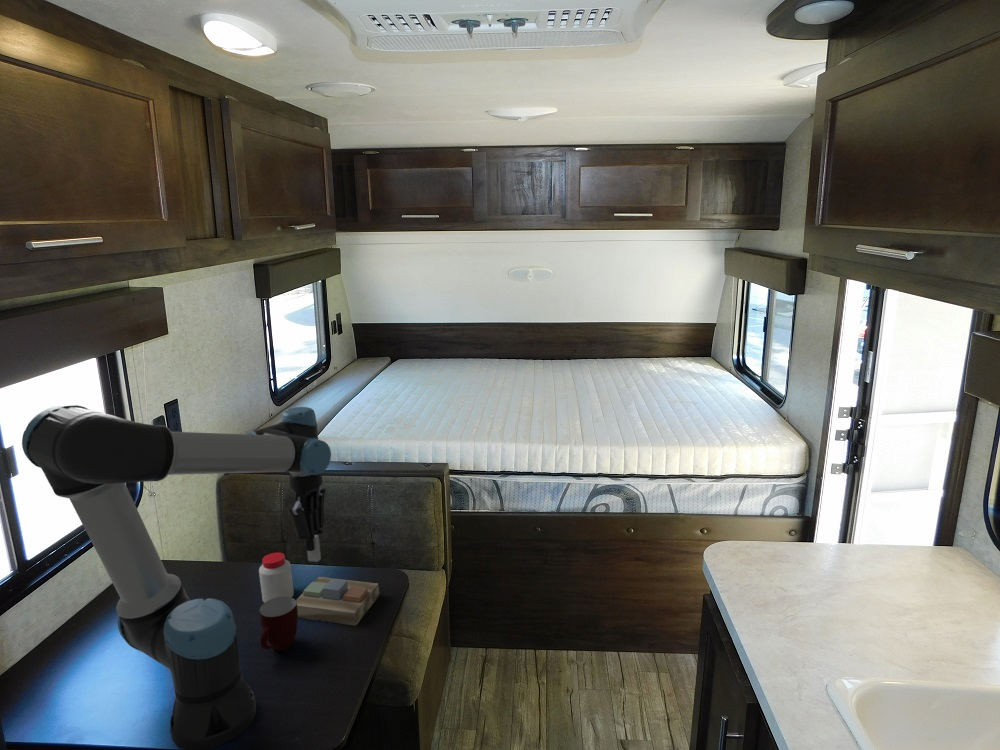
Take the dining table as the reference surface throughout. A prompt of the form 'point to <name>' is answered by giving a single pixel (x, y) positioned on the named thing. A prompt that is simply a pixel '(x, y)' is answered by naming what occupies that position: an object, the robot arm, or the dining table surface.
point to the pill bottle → (275, 577)
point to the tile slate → (335, 589)
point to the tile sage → (314, 590)
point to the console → (337, 605)
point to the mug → (278, 623)
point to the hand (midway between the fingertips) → (314, 559)
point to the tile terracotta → (355, 594)
